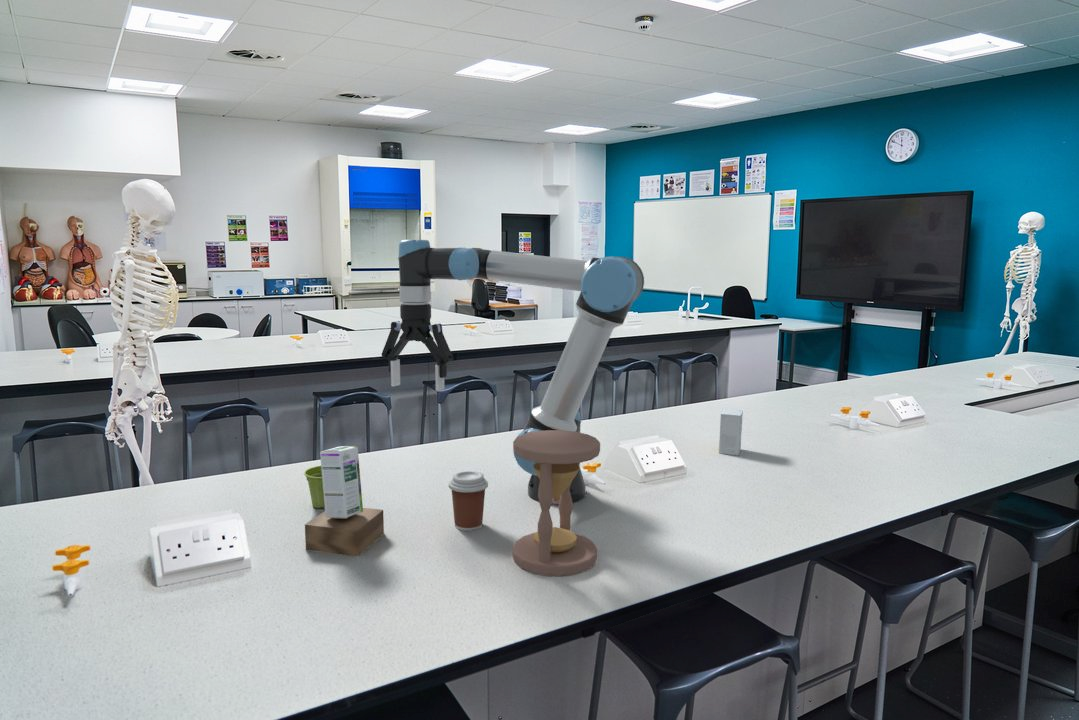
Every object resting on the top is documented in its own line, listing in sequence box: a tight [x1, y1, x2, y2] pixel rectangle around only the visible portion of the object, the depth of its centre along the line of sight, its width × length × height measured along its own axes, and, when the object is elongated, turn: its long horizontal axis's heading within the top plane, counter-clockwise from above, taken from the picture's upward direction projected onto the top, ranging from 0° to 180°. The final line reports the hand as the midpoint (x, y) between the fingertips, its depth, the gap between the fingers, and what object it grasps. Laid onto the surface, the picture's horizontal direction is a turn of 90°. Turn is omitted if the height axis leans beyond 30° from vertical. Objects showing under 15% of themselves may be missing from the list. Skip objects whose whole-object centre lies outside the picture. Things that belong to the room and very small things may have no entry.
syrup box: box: [319, 445, 364, 518], centre depth 149 cm, size 6×6×14 cm
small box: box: [718, 408, 744, 456], centre depth 222 cm, size 8×6×13 cm
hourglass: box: [511, 430, 601, 577], centre depth 142 cm, size 18×18×25 cm
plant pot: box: [303, 465, 325, 509], centre depth 172 cm, size 9×9×9 cm
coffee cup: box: [448, 470, 489, 532], centre depth 160 cm, size 9×9×12 cm
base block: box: [304, 507, 385, 558], centre depth 150 cm, size 12×12×6 cm
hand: (417, 388), depth 174 cm, fingers open, 13 cm apart
